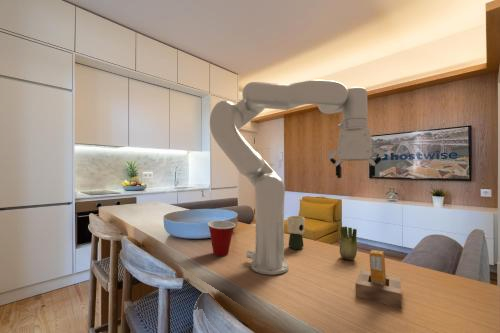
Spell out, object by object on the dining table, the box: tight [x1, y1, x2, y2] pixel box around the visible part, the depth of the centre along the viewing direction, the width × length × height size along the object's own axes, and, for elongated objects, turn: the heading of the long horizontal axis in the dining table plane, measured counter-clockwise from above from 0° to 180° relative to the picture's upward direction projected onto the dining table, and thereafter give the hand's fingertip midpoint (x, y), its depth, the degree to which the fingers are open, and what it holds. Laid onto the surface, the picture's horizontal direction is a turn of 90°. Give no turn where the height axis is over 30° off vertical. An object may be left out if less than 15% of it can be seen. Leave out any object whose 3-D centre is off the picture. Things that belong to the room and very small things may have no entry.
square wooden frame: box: [355, 269, 402, 309], centre depth 63 cm, size 10×10×4 cm
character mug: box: [287, 215, 306, 250], centre depth 102 cm, size 11×7×13 cm, turn 150°
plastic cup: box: [207, 220, 236, 257], centre depth 93 cm, size 11×11×12 cm
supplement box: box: [369, 249, 387, 286], centre depth 64 cm, size 3×3×10 cm
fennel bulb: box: [339, 226, 358, 261], centre depth 89 cm, size 6×5×12 cm
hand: (354, 178), depth 78 cm, fingers open, 9 cm apart
